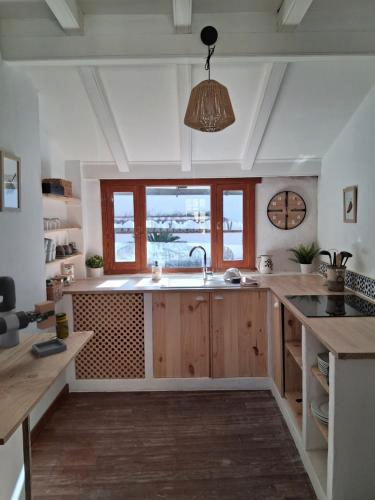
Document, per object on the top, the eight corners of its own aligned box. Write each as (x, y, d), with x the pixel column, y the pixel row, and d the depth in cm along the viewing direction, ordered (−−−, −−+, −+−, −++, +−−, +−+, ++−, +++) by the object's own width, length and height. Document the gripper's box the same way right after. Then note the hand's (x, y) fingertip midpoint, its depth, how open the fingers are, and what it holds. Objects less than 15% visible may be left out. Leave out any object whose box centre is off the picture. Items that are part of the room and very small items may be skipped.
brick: (37, 328, 166) (34, 304, 164) (51, 323, 171) (48, 300, 170) (42, 329, 163) (39, 305, 161) (56, 325, 168) (54, 301, 167)
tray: (32, 349, 170) (32, 344, 170) (58, 342, 177) (58, 337, 177) (39, 357, 160) (38, 352, 160) (66, 349, 167) (66, 345, 167)
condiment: (72, 336, 184) (70, 313, 182) (56, 341, 178) (53, 317, 176) (65, 333, 189) (63, 310, 187) (49, 338, 183) (47, 315, 182)
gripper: (21, 316, 150) (59, 305, 163) (5, 311, 159) (42, 301, 172) (23, 333, 151) (60, 322, 164) (7, 327, 160) (43, 317, 173)
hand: (50, 311), depth 168 cm, fingers closed on brick, 4 cm apart
